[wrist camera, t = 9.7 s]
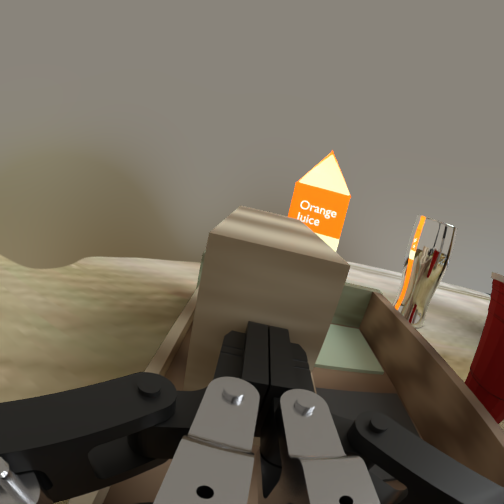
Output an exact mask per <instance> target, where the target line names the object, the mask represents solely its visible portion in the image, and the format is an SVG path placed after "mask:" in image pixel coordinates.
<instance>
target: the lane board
mask: <svg viewBox="0 0 504 504" xmlns="http://www.w3.org/2000/svg"><path fill="white" fill-rule="evenodd" d="M205 252H206V250H205V251H204V252H203V255H202V261H201V266H200V271H199V277H198V283H197V288H196V291H195V292H194V294H193V295H192V297H191V298H190V300H189V301H188V303H187V304H186V306H185V308H184V309H183V311H182V312H181V314H180V315H179V317H178V319H177V320H176V322H175V323H174V325H173V326H172V328H171V329H170V331H169V333H168V334H167V336H166V337H165V339H164V341H163V342H162V344H161V345H160V347H159V349H158V350H157V352H156V353H155V355H154V357H153V358H152V360H151V361H150V363H149V365H148V366H147V368H146V369H145V371H144V372H151V373H156V374H159V375H162V376H164V377H166V378H167V379H169V380H170V381H171V382H172V383H173V384H174V386H175V388H176V390H177V391H183V388H184V380H185V373H186V365H187V358H188V352H189V345H190V338H191V332H192V326H193V320H194V313H195V307H196V302H197V296H198V290H199V284H200V279H201V273H202V268H203V263H204V257H205ZM331 324H333V325H339V326H344V327H350V328H356V329H359V330H360V332H361V334H362V335H363V337H364V338H365V340H366V342H367V343H368V345H369V347H370V348H371V350H372V352H373V353H374V355H375V357H376V359H377V360H378V362H379V364H380V365H381V367H382V369H383V370H384V373H383V375H381V374H370V373H359V372H350V371H341V370H333V369H326V368H319V367H314V368H313V370H312V372H311V377H312V381H313V386H314V390H315V393H316V388H315V387H317V388H325V389H335V390H345V391H358V392H373V393H397V395H398V397H399V399H400V400H401V402H402V404H403V406H404V408H405V409H406V411H407V413H408V415H409V417H410V419H411V421H412V422H413V424H414V426H415V428H416V430H417V432H418V434H419V436H420V438H421V439H423V440H424V441H426V442H427V443H429V444H430V445H432V446H433V447H435V448H437V449H438V450H440V451H441V452H443V453H445V454H446V455H448V456H449V457H451V458H453V459H454V460H456V461H458V462H459V463H461V464H463V465H464V466H466V467H468V468H469V469H471V470H473V471H475V472H476V473H478V474H480V475H482V476H483V477H485V478H487V479H489V480H491V481H492V482H494V483H496V484H498V485H500V486H502V487H503V488H504V431H503V430H502V429H501V427H500V426H499V425H498V424H497V422H496V421H495V420H494V418H493V417H492V416H491V415H490V413H489V412H488V411H487V410H486V408H485V407H484V406H483V405H482V403H481V402H480V401H479V400H478V398H477V397H476V396H475V395H474V394H473V392H472V391H471V390H470V389H469V388H468V387H467V385H466V384H465V383H464V382H463V381H462V379H461V378H460V377H459V376H458V375H457V374H456V373H455V371H454V370H453V369H452V368H451V367H450V366H449V365H448V364H447V362H446V361H445V360H444V359H443V358H442V357H441V356H440V355H439V354H438V352H437V351H436V350H435V349H434V348H433V347H432V346H431V345H430V344H429V343H428V342H427V340H426V339H425V338H424V337H423V336H422V335H421V334H420V333H419V332H418V331H417V330H416V329H415V328H414V327H413V326H412V325H411V324H410V323H409V322H408V320H407V319H406V318H405V317H404V316H403V315H402V314H401V313H400V312H399V311H398V310H397V309H396V308H395V307H394V306H393V305H392V304H391V303H390V302H389V301H388V300H387V299H386V298H385V297H384V296H383V293H382V292H381V291H379V290H377V289H372V288H368V287H363V286H359V285H355V284H350V283H346V282H345V284H344V287H343V290H342V293H341V296H340V299H339V302H338V305H337V308H336V311H335V313H334V316H333V319H332V322H331ZM316 394H317V393H316ZM258 448H259V446H257V445H252V451H251V452H252V453H254V464H253V471H252V477H251V483H250V489H249V495H248V501H247V504H258V488H257V471H256V453H257V451H258ZM171 462H172V459H169V460H168V461H167V462H165V463H163V464H161V465H159V466H157V467H155V468H153V469H151V470H148V471H146V472H144V473H141V474H139V475H137V476H134V477H132V478H129V479H127V480H124V481H122V482H119V483H117V484H114V485H111V486H108V487H106V488H103V489H100V490H97V491H94V492H91V493H88V494H84V495H81V496H78V497H74V498H71V499H70V500H69V502H68V504H135V503H144V502H154V500H155V498H156V496H157V493H158V491H159V489H160V487H161V484H162V482H163V480H164V478H165V475H166V473H167V471H168V469H169V466H170V464H171ZM385 483H387V484H388V485H390V486H391V487H393V488H394V489H396V490H405V489H406V488H407V487H406V486H405V485H404V484H402V483H401V482H399V481H398V480H394V481H387V482H385Z"/></svg>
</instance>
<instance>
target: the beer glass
mask: <svg viewBox="0 0 504 504" xmlns="http://www.w3.org/2000/svg"><path fill="white" fill-rule="evenodd" d="M456 232H457V228H456V227H454V226H452V225H449V224H447V223H444V222H441V221H439V220H436V219H432V218H429V217H426V216H421V215H417V218H416V221H415V225H414V227H413V230H412V233H411V236H410V239H409V243H408V246H407V250H406V256H405V261H404V267H403V274H402V279H401V284H400V288H399V291H398V294H397V296H396V298H395V300H394V302H393V304H392V305H393V306H394V307H395V308H396V309H397V310H398V311H399V312H400V313H401V314H402V315H403V316H404V317H405V318H406V319H407V320H408V322H409V323H410V324H411V325H412V326H413V327H414V328H420V327H422V326H423V324H424V321H425V316H426V312H427V309H428V306H429V303H430V301H431V298H432V296H433V295H434V293H435V291H436V289H437V287H438V285H439V284H440V282H441V280H442V278H443V276H444V274H445V271H446V269H447V267H448V264H449V261H450V259H451V255H452V251H453V247H454V243H455V237H456Z"/></svg>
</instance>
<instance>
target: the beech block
mask: <svg viewBox="0 0 504 504" xmlns="http://www.w3.org/2000/svg"><path fill="white" fill-rule="evenodd" d="M349 269H350V265H349V264H348V263H347V262H346V261H345V260H344V259H343V258H342V257H341V256H339V255H338V254H337V253H336V252H335V251H334V250H333V249H332V248H331V247H330V246H329V245H328V244H326V243H325V242H324V241H323V240H322V239H321V238H320V237H319V236H318V235H317V234H315V233H314V232H313V231H312V230H311V229H310V228H309V227H308V226H306V225H305V224H304V223H303V222H302V221H301V220H299V219H295V218H291V217H286V216H283V215H278V214H274V213H270V212H265V211H261V210H258V209H253V208H249V207H244V206H240V207H239V208H237V209H236V210H235V211H234V212H233V213H231V214H230V215H229V216H228V217H227V218H226V219H224V220H223V221H222V222H221V223H220V224H219V225H218V226H216V227H215V228H214V229H213V230H212V231H211V232H210V233H209V237H208V242H207V247H206V252H205V257H204V263H203V268H202V273H201V279H200V284H199V290H198V296H197V302H196V307H195V313H194V320H193V326H192V332H191V338H190V345H189V352H188V358H187V365H186V373H185V380H184V388H183V391H196V390H200V389H203V388H205V387H207V386H208V385H209V383H210V382H211V381H212V380H213V378H214V374H215V370H216V366H217V362H218V359H219V355H220V351H221V347H222V343H223V340H224V336H225V335H226V334H228V333H229V332H230V331H232V330H233V331H237V332H242V333H245V331H246V328H247V324H248V321H252V322H256V323H261V324H265V325H268V326H269V325H270V326H275V327H280V328H285V329H288V331H289V338H290V342H291V343H296V344H299V345H300V346H301V347H302V348H303V349H304V351H305V352H306V355H307V359H308V363H309V370H310V372H312V370H313V368H314V365H315V363H316V360H317V358H318V355H319V353H320V350H321V348H322V345H323V343H324V340H325V338H326V335H327V332H328V330H329V327H330V324H331V322H332V319H333V316H334V313H335V311H336V308H337V305H338V302H339V299H340V296H341V293H342V290H343V287H344V284H345V281H346V278H347V275H348V272H349ZM252 445H257V446H260V437H254V438H253V444H252Z"/></svg>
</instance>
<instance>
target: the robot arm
mask: <svg viewBox="0 0 504 504" xmlns="http://www.w3.org/2000/svg"><path fill="white" fill-rule="evenodd" d="M254 437H260V446H259V448H258V451H257V453H256V471H257V488H258V504H504V488H503V487H502V486H500V485H498V484H496V483H494V482H492V481H491V480H489V479H487V478H485V477H483V476H482V475H480V474H478V473H476V472H475V471H473V470H471V469H469V468H468V467H466V466H464V465H463V464H461V463H459V462H458V461H456V460H454V459H453V458H451V457H449V456H448V455H446V454H445V453H443V452H441V451H440V450H438V449H437V448H435V447H433V446H432V445H430V444H429V443H427V442H426V441H424V440H423V439H421V438H419V437H418V436H416V435H415V434H413V433H412V432H410V431H409V430H407V429H406V428H404V427H403V426H401V425H400V424H398V423H397V422H396V421H394V420H393V419H391V418H390V417H388V416H387V415H385V414H383V413H380V412H376V411H365V412H362V413H360V414H359V415H358V416H357V418H356V419H355V421H354V420H350V419H347V418H343V417H340V416H337V415H334V414H332V413H330V410H329V407H328V405H327V403H326V402H325V400H324V399H323V398H322V397H320V396H319V395H317V394H316V393H315V390H314V386H313V381H312V377H311V372H310V370H309V363H308V359H307V355H306V352H305V351H304V349H303V348H302V347H301V346H300V345H299V344H296V343H291V342H290V338H289V331H288V329H285V328H280V327H275V326H270V325H269V326H268V325H265V324H261V323H256V322H252V321H248V324H247V328H246V331H245V333H242V332H237V331H233V330H232V331H230V332H229V333H228V334H226V335H225V336H224V340H223V343H222V347H221V351H220V355H219V359H218V362H217V366H216V370H215V374H214V378H213V380H212V381H211V382H210V383H209V385H208V386H207V387H205V388H203V389H200V390H196V391H177V390H176V388H175V386H174V384H173V383H172V382H171V381H170V380H169V379H167V378H166V377H164V376H162V375H159V374H156V373H151V372H139V373H135V374H131V375H128V376H124V377H120V378H117V379H113V380H109V381H105V382H101V383H98V384H94V385H90V386H85V387H81V388H77V389H73V390H68V391H64V392H59V393H54V394H49V395H44V396H39V397H34V398H28V399H22V400H16V401H10V402H3V403H0V504H53V503H55V502H59V501H63V500H67V499H71V498H74V497H78V496H81V495H84V494H88V493H91V492H94V491H97V490H100V489H103V488H106V487H108V486H111V485H114V484H117V483H119V482H122V481H124V480H127V479H129V478H132V477H134V476H137V475H139V474H141V473H144V472H146V471H148V470H151V469H153V468H155V467H157V466H159V465H161V464H163V463H165V462H167V461H168V460H169V459H172V462H171V464H170V466H169V469H168V471H167V473H166V475H165V478H164V480H163V482H162V484H161V487H160V489H159V491H158V493H157V496H156V498H155V500H154V502H144V503H135V504H247V501H248V495H249V489H250V483H251V477H252V471H253V464H254V453H252V452H251V451H252V444H253V438H254ZM375 464H376V465H377V466H378V467H380V468H381V469H383V470H384V471H385V472H387V473H388V474H389V475H391V476H392V477H394V478H395V479H397V480H398V481H399V482H401V483H402V484H404V485H405V486H406V487H407V488H406V489H405V490H396V489H394V488H393V487H391V486H390V485H388V484H387V483H385V482H384V481H383V480H381V479H380V478H379V477H377V476H376V475H375V474H373V473H372V472H371V471H369V470H370V469H371V468H372V467H373V466H374V465H375Z"/></svg>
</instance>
